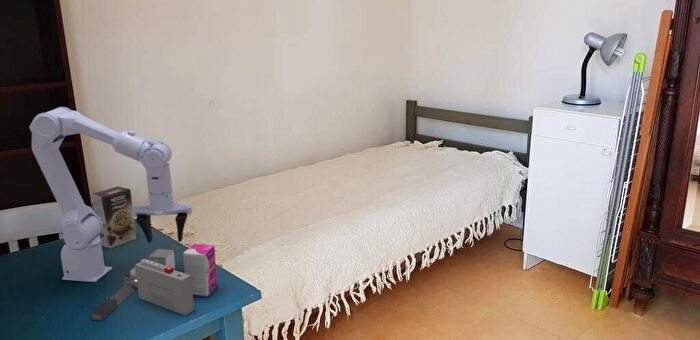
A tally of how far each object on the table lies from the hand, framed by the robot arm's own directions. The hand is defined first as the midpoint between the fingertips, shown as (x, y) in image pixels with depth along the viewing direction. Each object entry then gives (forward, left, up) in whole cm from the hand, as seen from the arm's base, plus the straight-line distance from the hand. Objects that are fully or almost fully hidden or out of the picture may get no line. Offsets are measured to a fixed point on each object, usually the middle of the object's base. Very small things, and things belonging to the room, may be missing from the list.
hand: (165, 240), depth 142 cm
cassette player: (+7, -15, -10) cm, 19 cm away
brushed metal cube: (-2, +1, -9) cm, 10 cm away
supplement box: (+13, -8, -10) cm, 18 cm away
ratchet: (-5, -14, -10) cm, 17 cm away
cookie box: (-25, +17, -10) cm, 32 cm away
